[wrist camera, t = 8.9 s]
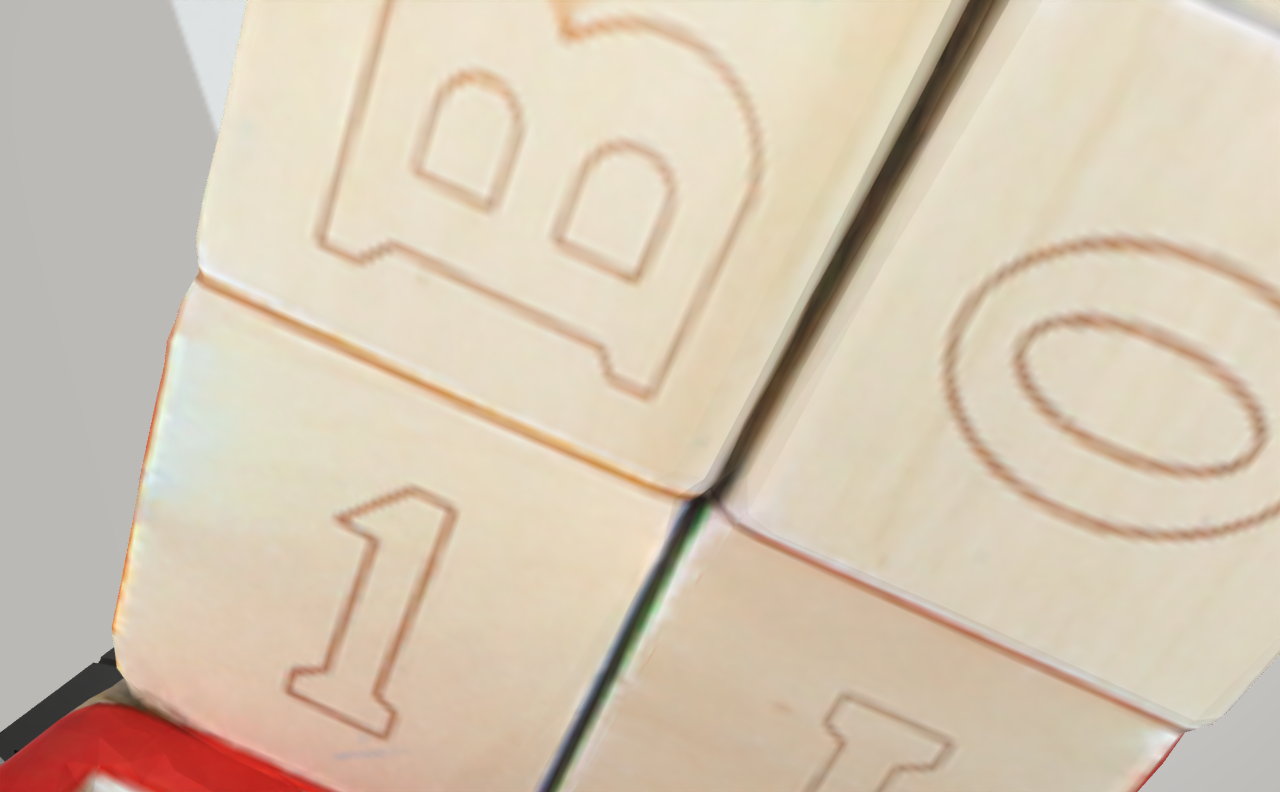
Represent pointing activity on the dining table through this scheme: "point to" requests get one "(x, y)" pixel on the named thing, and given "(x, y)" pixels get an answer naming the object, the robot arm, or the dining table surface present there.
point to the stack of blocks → (710, 404)
